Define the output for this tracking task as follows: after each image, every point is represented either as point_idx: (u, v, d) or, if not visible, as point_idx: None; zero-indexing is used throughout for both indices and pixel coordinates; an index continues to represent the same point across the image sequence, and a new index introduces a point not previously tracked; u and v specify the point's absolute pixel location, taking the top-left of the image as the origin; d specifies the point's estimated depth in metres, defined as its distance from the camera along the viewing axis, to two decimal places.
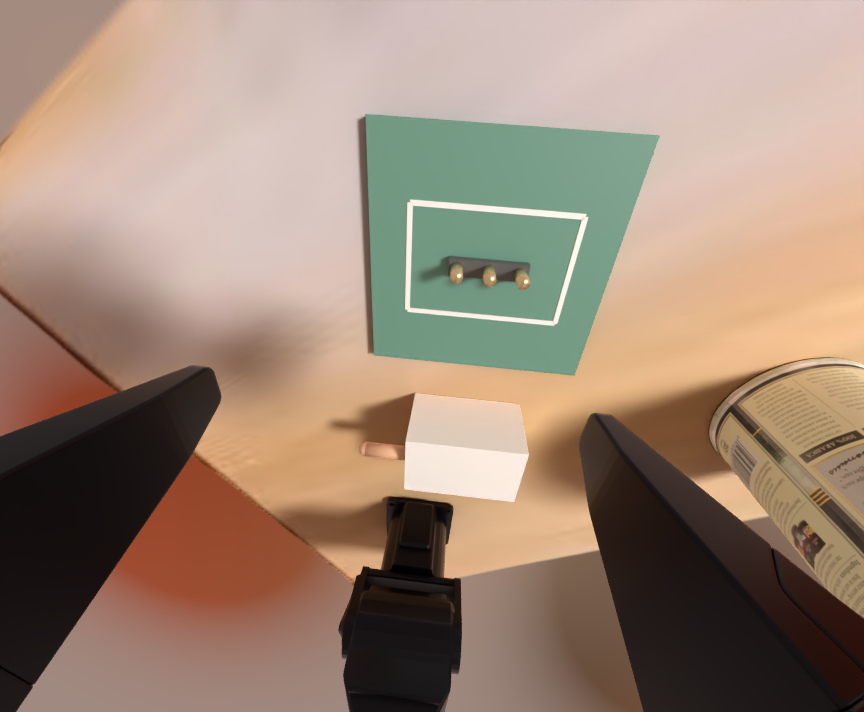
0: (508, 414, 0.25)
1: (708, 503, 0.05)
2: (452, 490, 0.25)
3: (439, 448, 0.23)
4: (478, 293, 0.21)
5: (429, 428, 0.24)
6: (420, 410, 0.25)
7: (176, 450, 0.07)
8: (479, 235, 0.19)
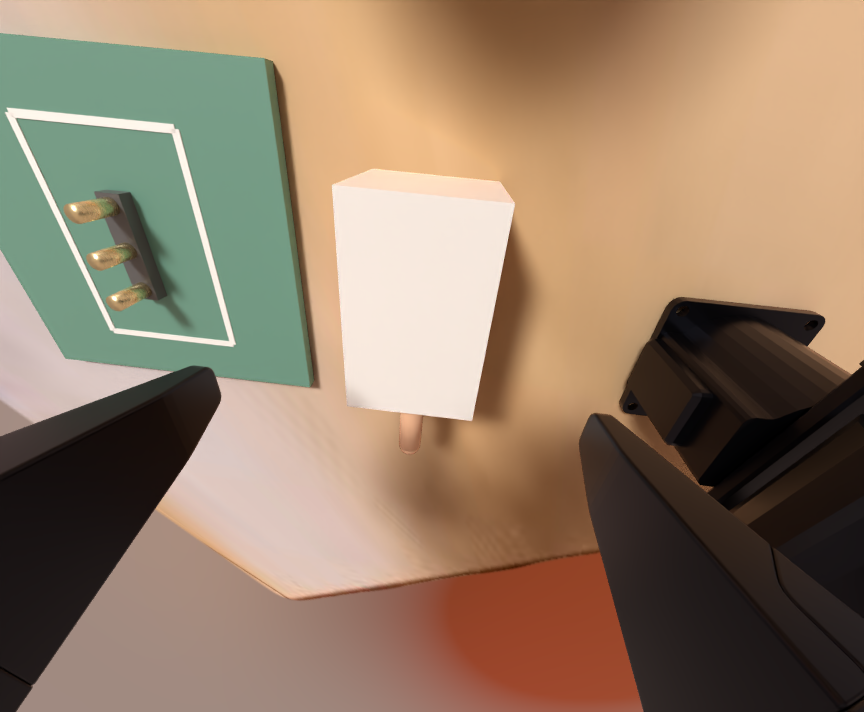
0: None
1: (708, 503, 0.05)
2: (472, 344, 0.12)
3: (352, 360, 0.13)
4: (178, 258, 0.16)
5: None
6: None
7: (176, 450, 0.07)
8: None
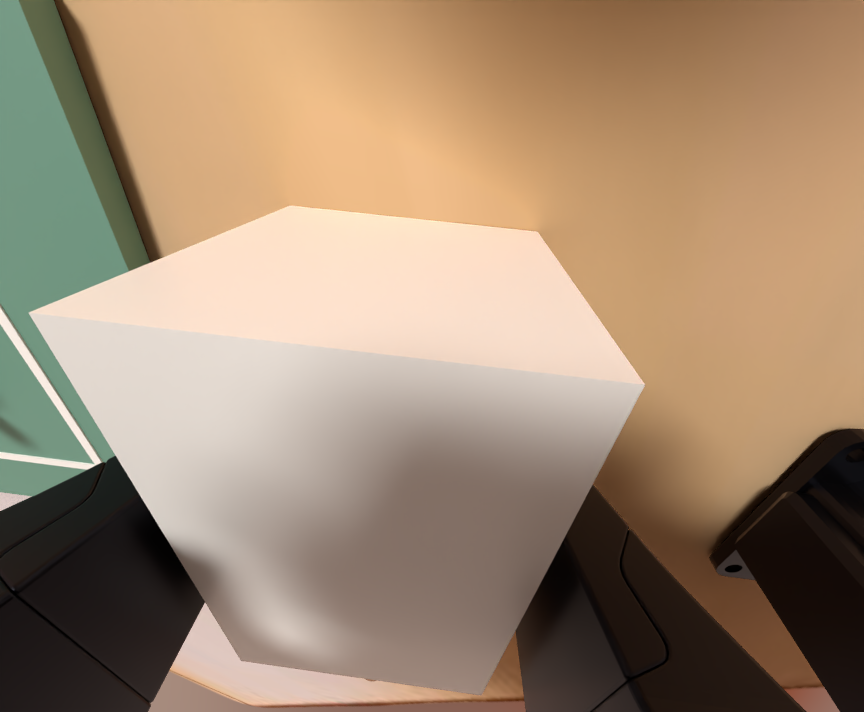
0: None
1: None
2: (485, 619, 0.05)
3: (230, 618, 0.06)
4: None
5: None
6: None
7: None
8: None
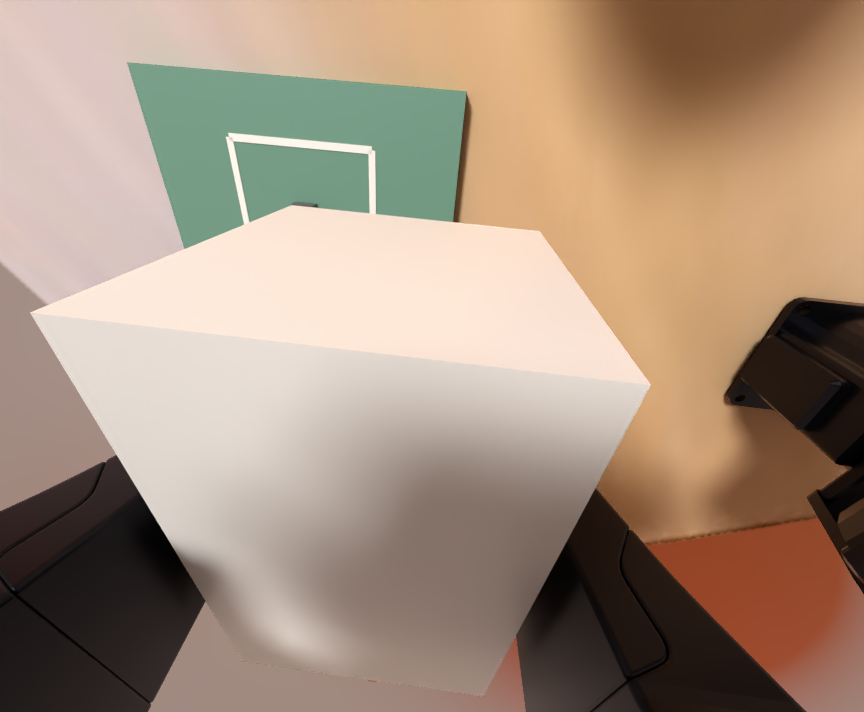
0: None
1: None
2: (487, 620, 0.05)
3: (232, 618, 0.06)
4: None
5: None
6: None
7: None
8: None
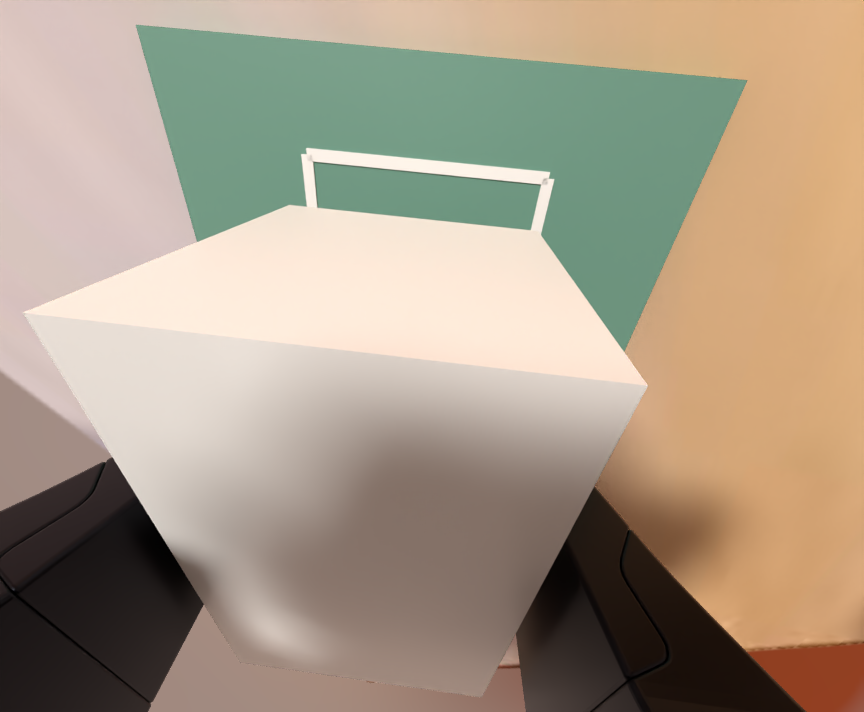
0: None
1: None
2: (485, 621, 0.05)
3: (229, 619, 0.06)
4: None
5: None
6: None
7: None
8: None
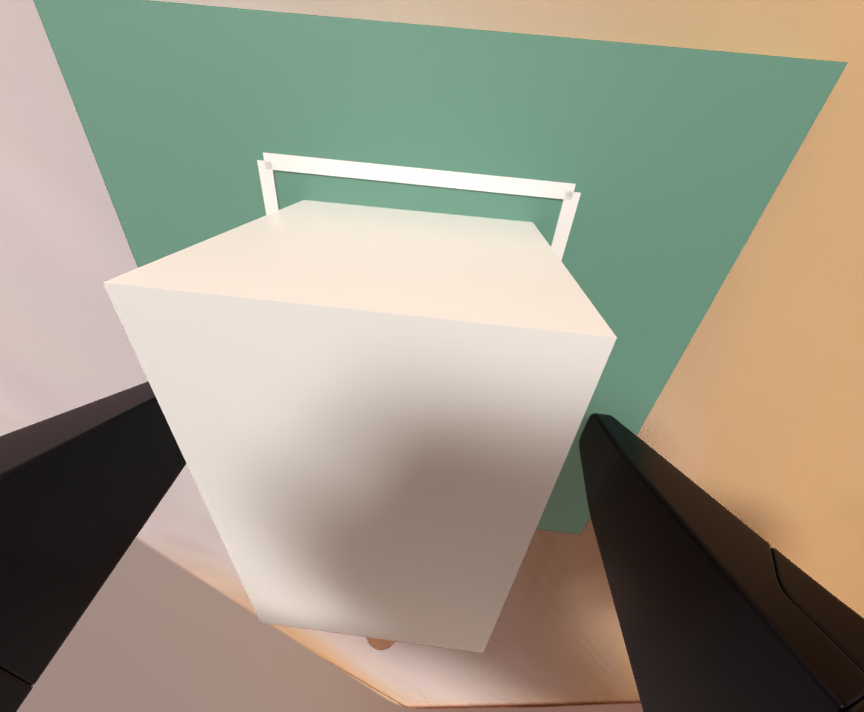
0: None
1: (708, 503, 0.05)
2: (486, 570, 0.06)
3: (254, 575, 0.07)
4: None
5: None
6: None
7: (176, 450, 0.07)
8: None
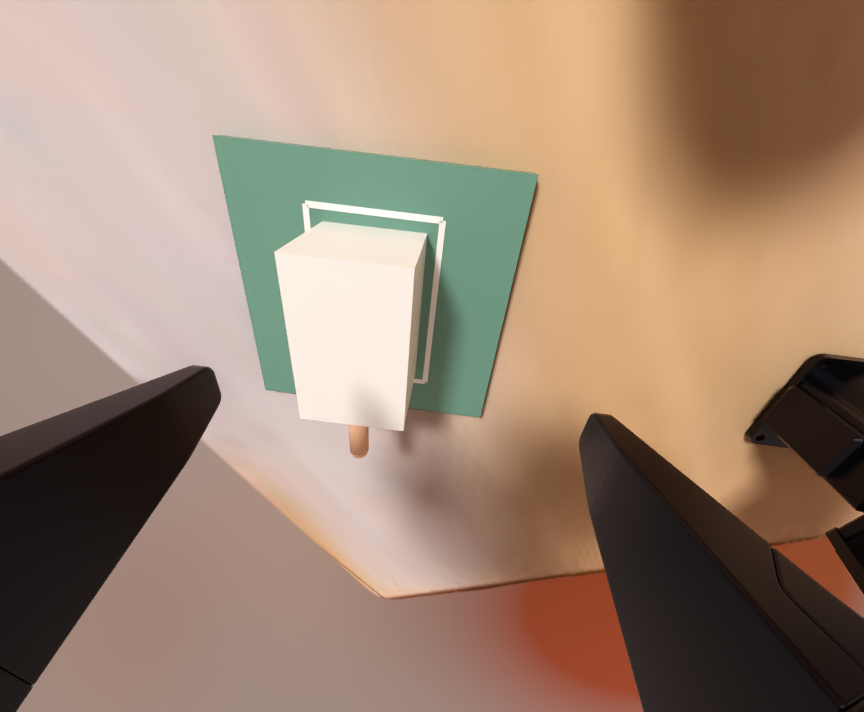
0: None
1: (708, 503, 0.05)
2: (395, 370, 0.15)
3: (301, 382, 0.15)
4: None
5: None
6: None
7: (176, 450, 0.07)
8: None
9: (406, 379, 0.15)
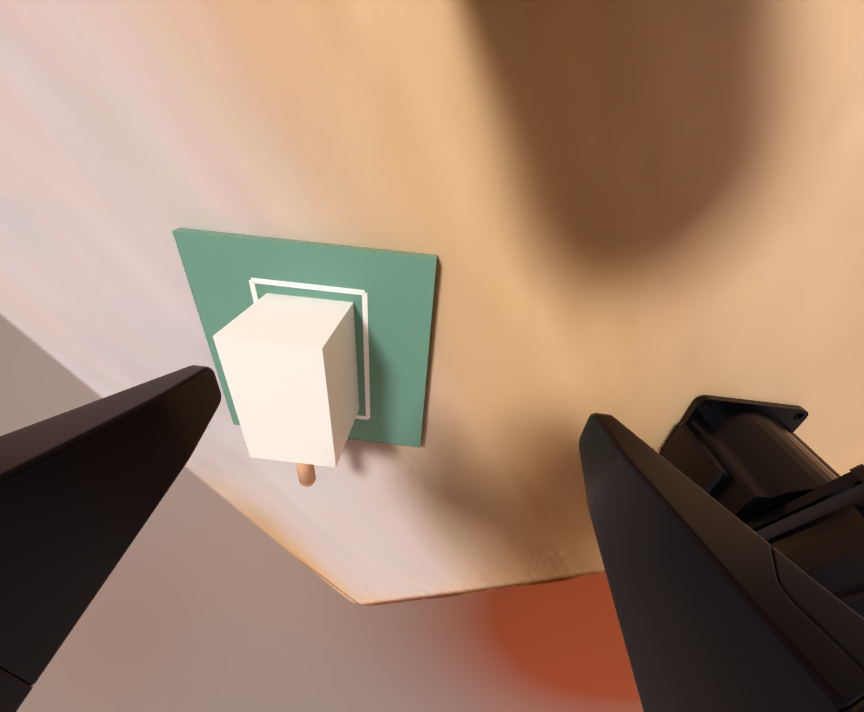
0: None
1: (708, 503, 0.05)
2: (321, 421, 0.18)
3: (247, 429, 0.19)
4: None
5: None
6: None
7: (176, 450, 0.07)
8: None
9: (331, 427, 0.18)
